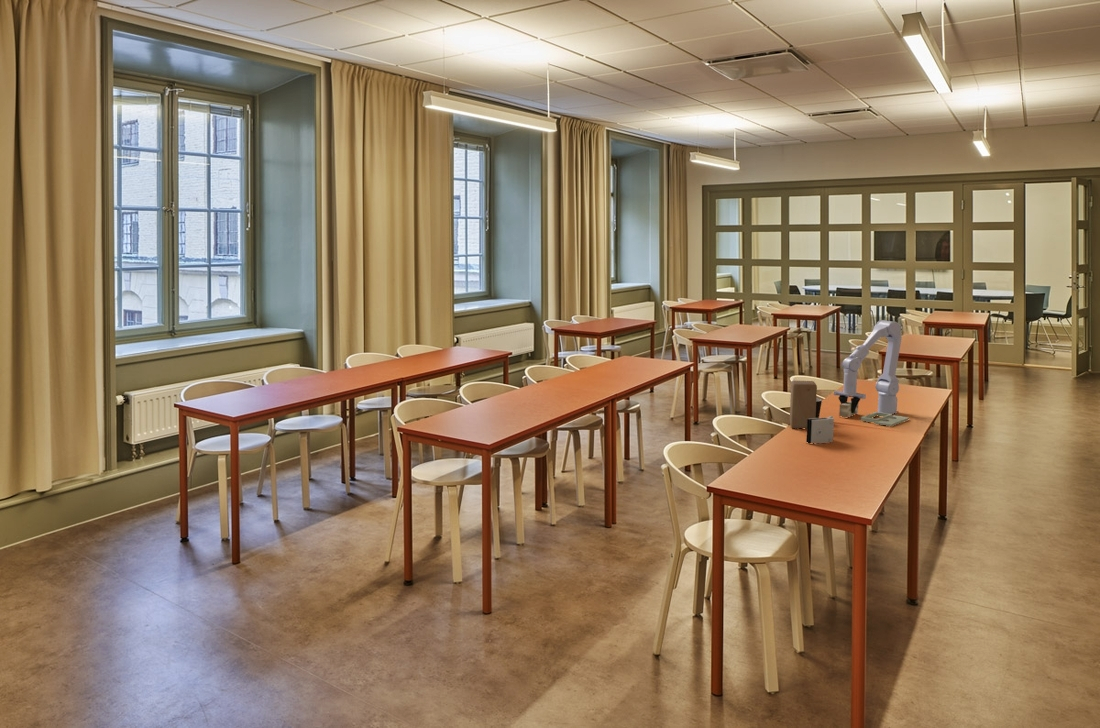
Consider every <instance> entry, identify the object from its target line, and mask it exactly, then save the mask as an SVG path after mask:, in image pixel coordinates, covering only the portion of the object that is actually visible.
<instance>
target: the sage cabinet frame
mask: <svg viewBox="0 0 1100 728" xmlns="http://www.w3.org/2000/svg"><path fill="white" fill-rule="evenodd" d="M877 415H878V416H883V417H876V418H872V417H874V416H877ZM908 419H909V420H910V417H909V416H901V415H895V414H893V415H892V414H888V413H881V412H875V411H874V412H872V413H869V414H866V415H862V416H860V422H861V421H866V422H865V423H867V422H874V423H875V424H880V425H879V426H881V425H886V426H885V427H887V426H892V427H895V426H897V425H896V424H898V425H900V424H902V423H901V422H903V423H905V422H907V421H906V420H908ZM909 420H908V421H909ZM904 421H905V422H904ZM899 423H900V424H899ZM894 425H895V426H894Z"/></svg>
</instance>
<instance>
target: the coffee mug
mask: <svg viewBox="0 0 1100 728" xmlns="http://www.w3.org/2000/svg"><path fill="white" fill-rule="evenodd" d="M822 403H823V401H822V399H821V398H817V397H816V418H820V414H821V407H822Z"/></svg>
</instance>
